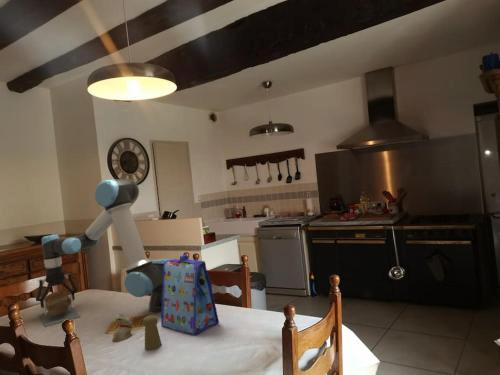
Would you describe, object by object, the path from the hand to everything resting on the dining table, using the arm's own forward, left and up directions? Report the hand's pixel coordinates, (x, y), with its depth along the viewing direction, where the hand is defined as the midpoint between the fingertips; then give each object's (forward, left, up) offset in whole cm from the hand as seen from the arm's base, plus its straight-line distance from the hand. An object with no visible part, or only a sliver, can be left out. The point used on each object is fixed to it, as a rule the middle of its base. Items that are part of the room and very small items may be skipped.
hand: (59, 310), depth 181 cm
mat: (0, 0, -3) cm, 3 cm away
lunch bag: (-66, -40, -3) cm, 77 cm away
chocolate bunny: (-56, -16, -3) cm, 58 cm away
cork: (-74, -22, -3) cm, 77 cm away
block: (+11, 0, +4) cm, 12 cm away
